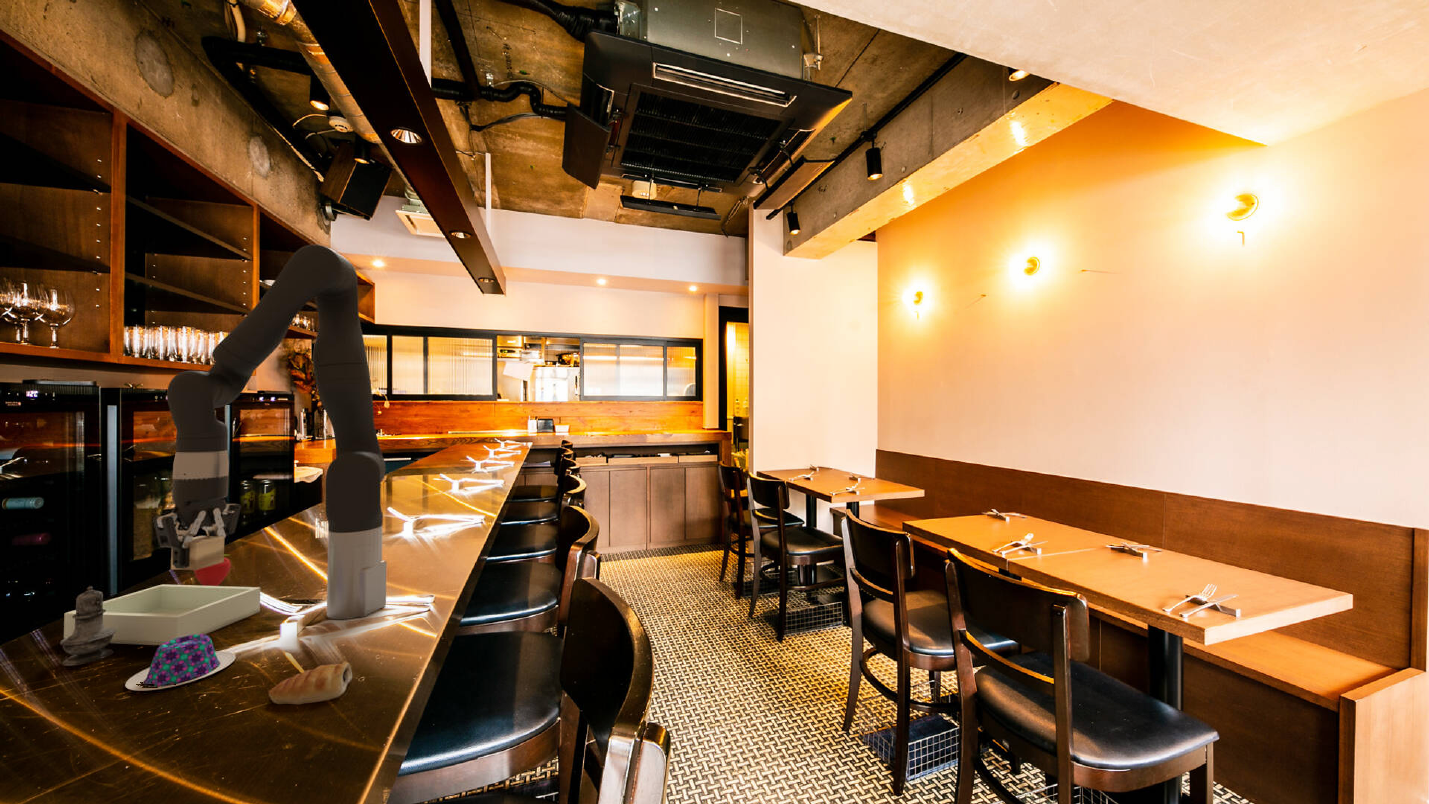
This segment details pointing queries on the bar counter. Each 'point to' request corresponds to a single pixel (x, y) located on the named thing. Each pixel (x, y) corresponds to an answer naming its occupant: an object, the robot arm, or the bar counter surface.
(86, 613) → the dark grey tiered piece
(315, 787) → the bar counter surface
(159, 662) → the patterned hat
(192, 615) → the tray
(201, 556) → the maple block
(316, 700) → the pastry
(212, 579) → the strawberry
